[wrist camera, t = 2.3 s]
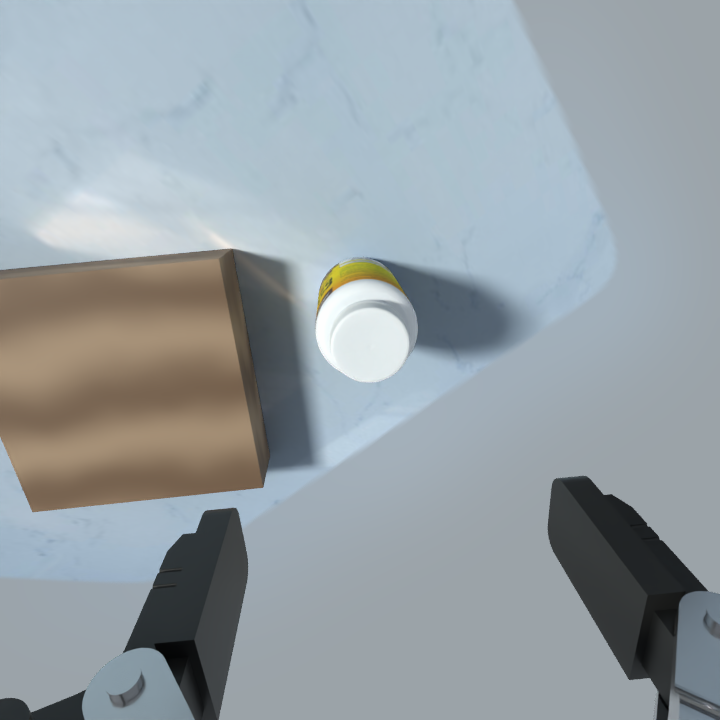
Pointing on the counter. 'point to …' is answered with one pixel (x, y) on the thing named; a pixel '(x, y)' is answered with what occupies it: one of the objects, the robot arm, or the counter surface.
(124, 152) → the counter surface
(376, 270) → the supplement bottle
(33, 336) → the walnut block
